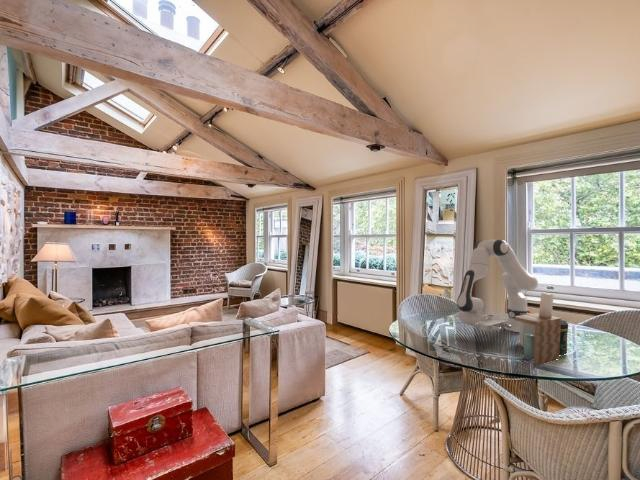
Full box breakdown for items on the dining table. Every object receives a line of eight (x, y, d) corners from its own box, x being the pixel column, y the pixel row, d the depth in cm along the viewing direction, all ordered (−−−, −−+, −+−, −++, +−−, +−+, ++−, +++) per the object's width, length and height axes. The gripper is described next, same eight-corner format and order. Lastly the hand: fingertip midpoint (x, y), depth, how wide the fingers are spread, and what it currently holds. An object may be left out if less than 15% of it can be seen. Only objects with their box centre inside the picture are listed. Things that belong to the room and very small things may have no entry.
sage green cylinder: (527, 354, 172) (528, 333, 172) (538, 358, 168) (538, 336, 167) (521, 356, 170) (522, 334, 170) (531, 360, 165) (532, 337, 165)
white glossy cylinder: (539, 314, 172) (542, 292, 172) (552, 316, 169) (554, 294, 168) (538, 315, 168) (540, 293, 168) (550, 318, 165) (553, 295, 164)
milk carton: (532, 344, 188) (534, 313, 188) (536, 348, 182) (538, 316, 181) (519, 343, 191) (520, 311, 190) (522, 347, 184) (523, 314, 183)
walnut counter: (535, 351, 178) (536, 312, 177) (559, 359, 167) (560, 318, 166) (513, 357, 169) (514, 316, 168) (536, 366, 158) (538, 322, 157)
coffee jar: (561, 357, 169) (562, 323, 168) (544, 352, 176) (546, 319, 175) (569, 354, 174) (571, 321, 174) (552, 349, 181) (554, 317, 180)
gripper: (472, 319, 189) (493, 325, 176) (494, 314, 198) (516, 320, 186) (472, 329, 189) (493, 336, 177) (494, 324, 198) (516, 330, 186)
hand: (505, 328), depth 181 cm, fingers open, 8 cm apart
